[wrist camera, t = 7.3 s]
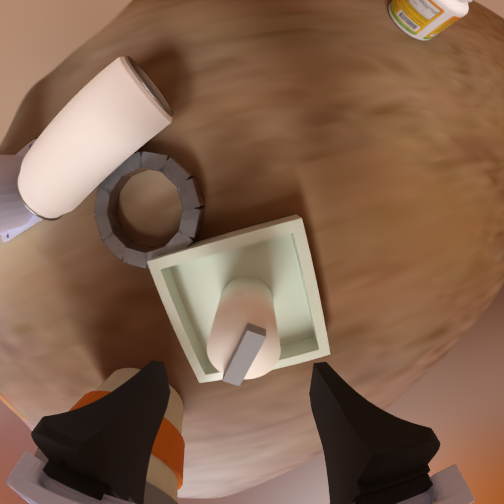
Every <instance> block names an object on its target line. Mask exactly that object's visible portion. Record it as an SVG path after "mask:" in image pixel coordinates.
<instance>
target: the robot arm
mask: <svg viewBox="0 0 504 504" xmlns="http://www.w3.org/2000/svg"><path fill="white" fill-rule="evenodd" d="M36 140H37V139H34V140H32V141H31V142H30V143H28V144H27V145H26V146H25V147H24V148H22V149H21V150H20V151H19V152H18V153H17V154H15V155H0V235H1V237H2V241H3V242H4V243H6V242H8V241H9V240H11V239H12V238H14V237H15V236H17V235H18V234H20V233H22V232H23V231H25V230H26V229H28V228H30V227H31V226H33V225H35V224H36V223H38V222H40V221H41V220H43V219H42V218H39V217H38V216H36V215H34V214H33V213H32V212H30V211H29V210H28V209H27V208H26V206H25V205H24V204H23V203H22V201H21V199H20V197H19V195H18V192H17V189H16V178H17V175H18V173H19V171H20V170H21V165H22V161H23V159H24V157H25V155H26V154H27V152H28V151H29V149H30V148H31V146H32V145H33V144H34V142H35V141H36ZM170 392H171V391H170V388H169V383H168V379H167V375H166V371H165V366H164V362H160V361H151V362H150V363H148V364H147V365H146V366H145V367H144V368H142V369H141V370H140V371H139V372H138V373H136V374H135V375H134V376H133V377H131V378H130V379H129V380H128V381H126V382H125V383H124V384H122V385H121V386H119V387H118V388H116V389H115V390H114V391H112V392H111V393H109V394H107V395H106V396H104V397H102V398H100V399H98V400H96V401H94V402H92V403H90V404H88V405H85V406H83V407H81V408H78V409H75V410H72V411H68V412H65V413H61V414H56V415H51V416H45V417H43V418H42V419H41V420H40V422H39V423H38V424H37V426H36V427H35V428H34V430H33V431H32V433H31V435H32V438H33V440H34V442H35V444H36V445H37V446H38V448H39V449H40V450H41V451H42V453H43V454H44V455H45V456H46V457H47V459H48V462H47V464H46V463H45V462H43V461H42V460H40V459H39V458H37V457H35V456H34V455H32V454H30V453H28V452H26V451H25V452H24V454H23V455H22V457H21V458H20V460H19V461H18V463H17V464H16V466H15V467H14V469H13V471H12V472H11V474H10V475H9V477H8V478H7V480H6V483H7V484H8V485H9V486H10V487H11V488H12V489H13V490H14V491H15V492H17V493H18V494H19V495H20V496H21V497H22V498H24V499H25V500H26V501H27V502H28V503H30V504H144V492H145V484H146V477H147V471H148V466H149V461H150V456H151V452H152V447H153V444H154V441H155V438H156V436H157V433H158V431H159V428H160V425H161V423H162V420H163V417H164V415H165V412H166V409H167V406H168V402H169V397H170ZM309 394H310V401H311V407H312V412H313V416H314V419H315V422H316V426H317V429H318V432H319V436H320V439H321V442H322V446H323V450H324V455H325V461H326V468H327V476H328V484H329V494H330V504H471V503H472V502H474V500H475V499H474V496H473V495H472V493H471V491H470V489H469V487H468V485H467V483H466V482H465V480H464V478H463V476H462V475H461V473H460V471H459V469H458V467H457V466H456V465H452V466H450V467H448V468H446V469H445V470H442V471H440V472H438V473H436V474H434V475H433V476H432V477H429V475H428V472H429V471H430V469H429V466H428V463H429V462H430V460H431V459H432V458H433V457H434V456H435V454H436V453H437V451H438V450H439V447H440V442H439V440H438V439H437V437H436V435H435V433H434V432H433V430H432V429H431V428H428V427H425V426H421V425H417V424H414V423H411V422H408V421H405V420H402V419H400V418H398V417H395V416H393V415H391V414H389V413H387V412H385V411H383V410H382V409H380V408H378V407H377V406H375V405H374V404H372V403H370V402H369V401H367V400H366V399H365V398H363V397H362V396H361V395H360V394H358V393H357V392H356V391H355V390H354V389H353V388H351V387H350V386H349V385H348V384H347V383H346V382H345V381H344V380H343V379H342V378H341V377H340V376H339V375H338V374H337V373H336V372H335V371H334V370H333V369H332V368H331V367H330V365H329V364H328V363H327V362H321V363H314V365H313V372H312V379H311V386H310V392H309Z"/></svg>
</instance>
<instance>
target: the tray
mask: <svg viewBox="0 0 504 504" xmlns="http://www.w3.org/2000/svg"><path fill="white" fill-rule="evenodd" d="M147 263H148V266H149V269H150V271H151V274H152V277H153V279H154V282H155V285H156V287H157V290H158V292H159V295H160V297H161V300H162V302H163V305H164V307H165V310H166V312H167V314H168V317H169V319H170V322H171V324H172V326H173V328H174V331H175V333H176V335H177V337H178V340H179V342H180V344H181V346H182V348H183V350H184V353H185V355H186V357H187V359H188V361H189V363H190V365H191V367H192V369H193V371H194V373H195V375H196V377H197V379H198V381H199V383H203V382H210V381H217V380H222V379H223V373H221V372H220V371H218V370H217V369H216V368H215V367H214V366H213V365H212V363H211V362H210V360H209V358H208V355H207V343H208V339H209V335H210V332H211V328H212V325H213V321H214V318H215V314H216V311H217V307H218V304H219V301H220V297H221V294H222V291H223V289H224V287H225V286H226V285H227V284H228V283H229V282H230V281H231V280H233V279H235V278H238V277H242V276H250V277H255V278H258V279H260V280H261V281H263V282H264V283H265V284H266V285H267V286H268V287H269V289H270V291H271V293H272V298H273V304H274V310H275V316H276V322H277V329H278V335H279V341H280V347H281V353H280V358H279V360H278V362H277V364H276V365H275V367H274V368H273V369H277V368H282V367H286V366H290V365H294V364H298V363H301V362H305V361H309V360H312V359H316V358H320V357H323V356H326V355H330V350H329V344H328V338H327V333H326V327H325V322H324V316H323V311H322V306H321V301H320V296H319V291H318V286H317V281H316V277H315V272H314V267H313V263H312V258H311V254H310V250H309V245H308V241H307V237H306V233H305V229H304V225H303V220H302V218H301V217H300V216H298V215H296V214H295V215H291V216H287V217H284V218H280V219H276V220H272V221H269V222H265V223H261V224H258V225H254V226H251V227H247V228H243V229H240V230H236V231H233V232H229V233H226V234H222V235H219V236H215V237H212V238H208V239H205V240H201V241H198V242H194V243H191V244H190V245H189V246H188V247H187V248H185V249H181V250H178V251H175V252H171V253H168V254H164V255H161V256H158V257H154V258H151V259H150V260H149V261H147ZM273 369H272V370H273Z"/></svg>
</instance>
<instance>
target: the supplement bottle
mask: <svg viewBox="0 0 504 504" xmlns="http://www.w3.org/2000/svg"><path fill="white" fill-rule="evenodd" d="M471 1H473V0H392V1H391V3H390V4H389V8H388V9H389V14H390V16H391V18H392V19H393V21H394V22H395V23H396V25H397V26H398V27H399V28H400V29H401V30H403V31H404V32H405V33H406V34H408V35H410V36H411V37H413V38H416V39H419V40H429V39H431V38H433V37H434V36H436V35H437V34H438V33H440V32H441V31H443V30H444V29H445V28H447V27H448V26H450V25H451V24H453V23H454V22H456V21H457V20H459V19H460V18H462V17H463V16H465V15H466V14H467V13H468V9H469V8H468V3H467V2H471Z"/></svg>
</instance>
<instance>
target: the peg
mask: <svg viewBox="0 0 504 504" xmlns="http://www.w3.org/2000/svg"><path fill="white" fill-rule="evenodd" d="M280 353H281V347H280V341H279V335H278V329H277V322H276V316H275V310H274V304H273V298H272V293H271V291H270V289H269V287H268V286H267V285H266V284H265V283H264V282H263V281H261V280H260V279H258V278H255V277H250V276H242V277H238V278H235V279H233V280H231V281H230V282H229V283H228V284H227V285H226V286H225V287H224V289H223V291H222V294H221V297H220V301H219V304H218V307H217V311H216V314H215V318H214V321H213V325H212V328H211V332H210V335H209V339H208V343H207V355H208V358H209V360H210V362H211V363H212V365H213V366H214V367H215V368H216V369H217V370H218V371H220V372H221V373H223V379H222V381H225V382H228V383H231V384H234V385H237V386H240V384H241V383H242V381H243V379H253V378H257V377H260V376H263V375H265V374H266V373H268V372H269V371H271V370H272V369H273V368H274V367H275V365H276V364H277V362H278V360H279V358H280Z"/></svg>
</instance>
